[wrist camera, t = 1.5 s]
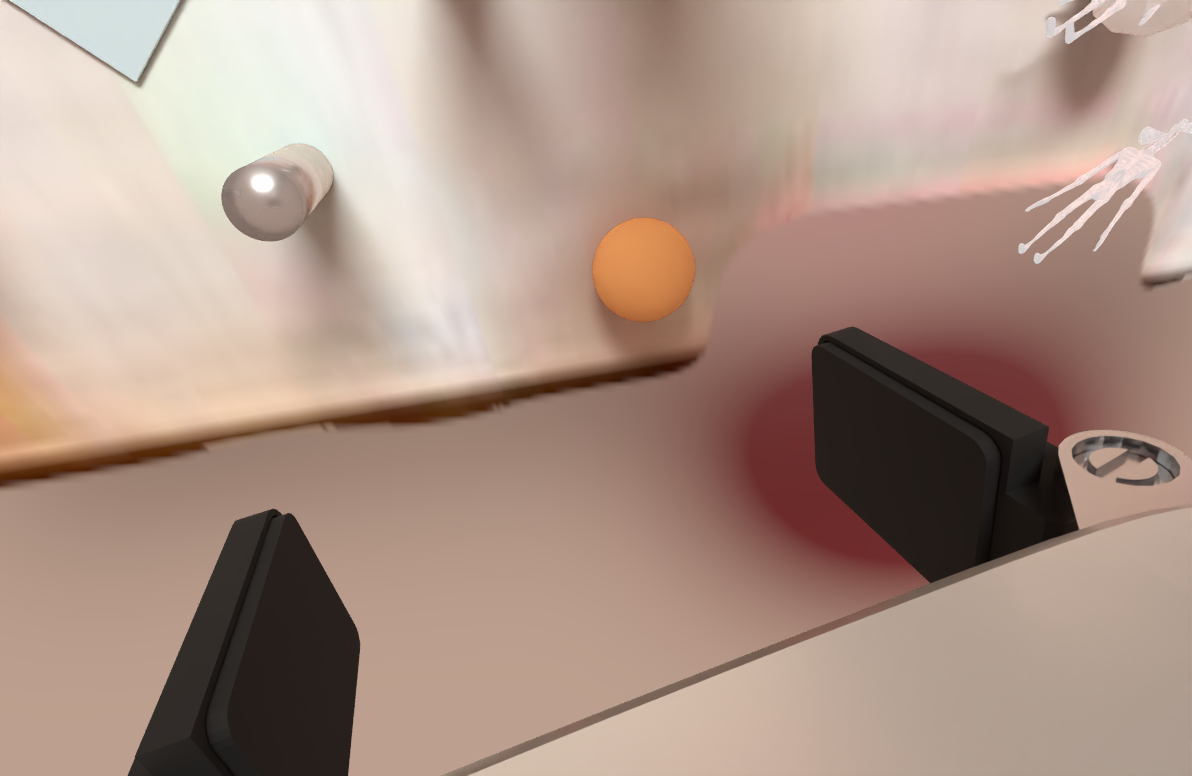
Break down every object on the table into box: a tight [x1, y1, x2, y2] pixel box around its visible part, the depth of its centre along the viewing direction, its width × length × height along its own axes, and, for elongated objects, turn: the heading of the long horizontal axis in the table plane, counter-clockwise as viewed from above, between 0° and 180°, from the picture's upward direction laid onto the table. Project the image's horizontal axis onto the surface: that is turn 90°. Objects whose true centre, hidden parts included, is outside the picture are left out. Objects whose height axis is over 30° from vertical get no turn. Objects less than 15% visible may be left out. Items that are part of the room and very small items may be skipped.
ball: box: [592, 218, 695, 322], centre depth 33 cm, size 6×6×6 cm
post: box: [222, 143, 333, 241], centre depth 25 cm, size 3×3×9 cm
